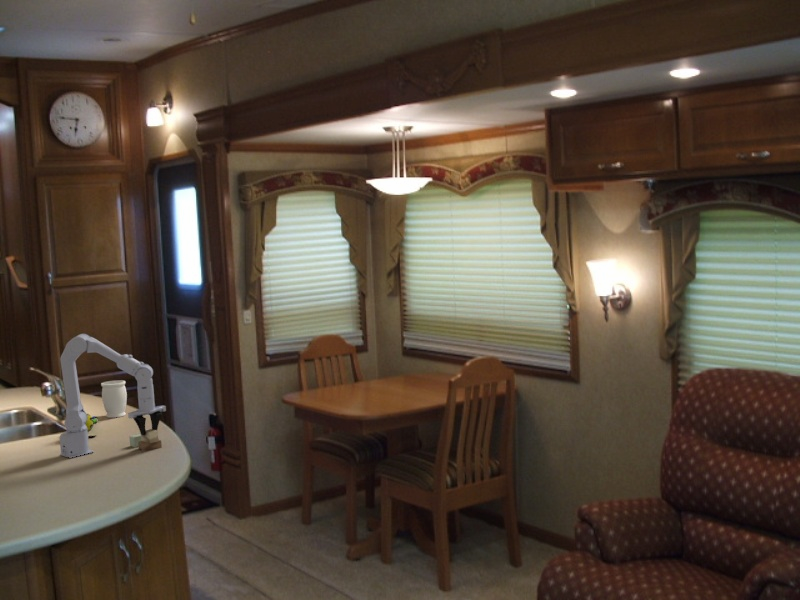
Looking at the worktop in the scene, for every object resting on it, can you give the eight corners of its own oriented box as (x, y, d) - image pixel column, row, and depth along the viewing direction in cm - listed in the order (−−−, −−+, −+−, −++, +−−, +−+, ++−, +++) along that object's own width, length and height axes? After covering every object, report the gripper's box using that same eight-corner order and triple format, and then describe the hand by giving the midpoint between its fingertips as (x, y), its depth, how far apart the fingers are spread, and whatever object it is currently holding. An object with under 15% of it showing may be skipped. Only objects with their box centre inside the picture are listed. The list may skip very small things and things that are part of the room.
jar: (102, 415, 399) (99, 381, 397) (126, 412, 403) (123, 379, 401) (105, 419, 389) (102, 385, 388) (130, 416, 393) (127, 382, 392)
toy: (82, 434, 382) (69, 440, 353) (79, 411, 383) (66, 415, 353) (104, 431, 384) (93, 436, 355) (101, 408, 384) (90, 411, 355)
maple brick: (158, 441, 335) (157, 430, 335) (150, 443, 333) (149, 432, 332) (150, 438, 339) (149, 428, 339) (141, 440, 337) (140, 430, 337)
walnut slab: (143, 451, 333) (142, 444, 332) (138, 449, 337) (138, 441, 336) (161, 448, 337) (161, 440, 336) (156, 445, 341) (156, 438, 340)
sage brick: (134, 447, 338) (134, 437, 338) (130, 446, 341) (129, 436, 340) (149, 444, 343) (148, 434, 342) (144, 443, 345) (143, 432, 345)
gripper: (134, 402, 327) (137, 439, 328) (169, 395, 337) (171, 431, 338) (124, 400, 332) (127, 436, 333) (159, 393, 342) (161, 428, 343)
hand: (149, 433), depth 336 cm, fingers open, 4 cm apart
